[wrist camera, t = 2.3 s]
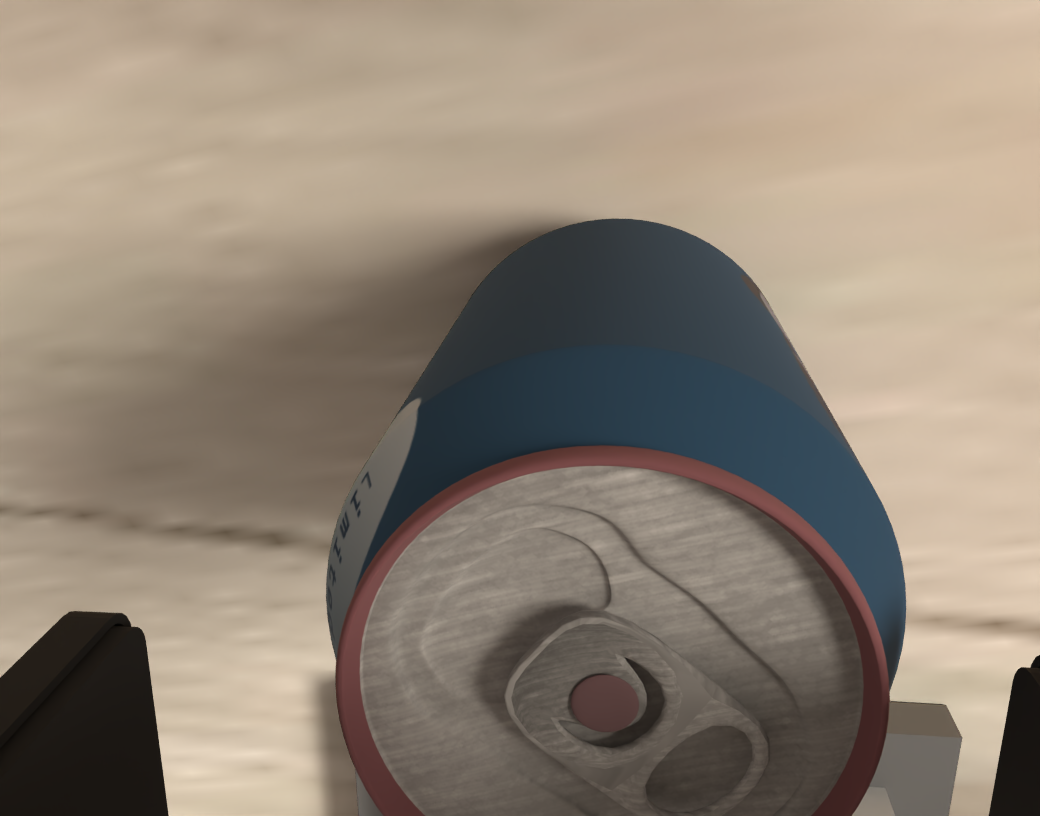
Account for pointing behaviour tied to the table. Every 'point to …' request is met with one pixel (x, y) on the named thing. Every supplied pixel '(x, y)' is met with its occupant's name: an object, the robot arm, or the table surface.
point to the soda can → (615, 556)
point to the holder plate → (883, 765)
